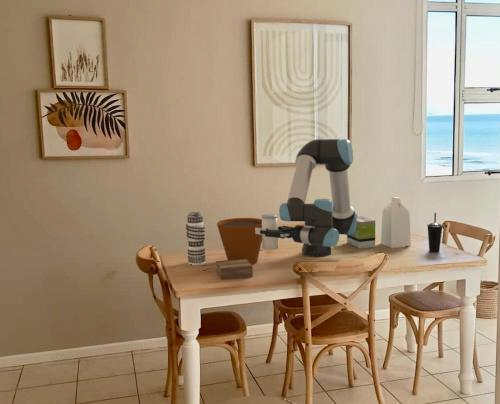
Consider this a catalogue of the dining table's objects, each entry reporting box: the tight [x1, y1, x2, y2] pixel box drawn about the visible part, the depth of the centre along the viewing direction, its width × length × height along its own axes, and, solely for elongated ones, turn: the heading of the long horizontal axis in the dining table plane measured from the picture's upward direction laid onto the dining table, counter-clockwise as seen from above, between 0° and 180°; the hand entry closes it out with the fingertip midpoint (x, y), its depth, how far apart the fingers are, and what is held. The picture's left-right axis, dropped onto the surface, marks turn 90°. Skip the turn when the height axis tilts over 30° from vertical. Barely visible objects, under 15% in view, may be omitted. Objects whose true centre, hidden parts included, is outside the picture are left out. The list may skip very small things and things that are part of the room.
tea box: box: [346, 216, 376, 249], centre depth 304 cm, size 15×10×15 cm
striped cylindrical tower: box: [185, 211, 206, 266], centre depth 274 cm, size 9×9×25 cm
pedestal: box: [215, 259, 253, 280], centre depth 253 cm, size 14×14×5 cm
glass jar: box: [261, 213, 279, 251], centre depth 250 cm, size 7×7×15 cm
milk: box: [380, 196, 412, 249], centre depth 302 cm, size 12×12×26 cm
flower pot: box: [216, 217, 262, 266], centre depth 274 cm, size 24×24×20 cm
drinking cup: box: [426, 212, 444, 254], centre depth 285 cm, size 8×8×20 cm
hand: (261, 229), depth 253 cm, fingers closed on glass jar, 7 cm apart
